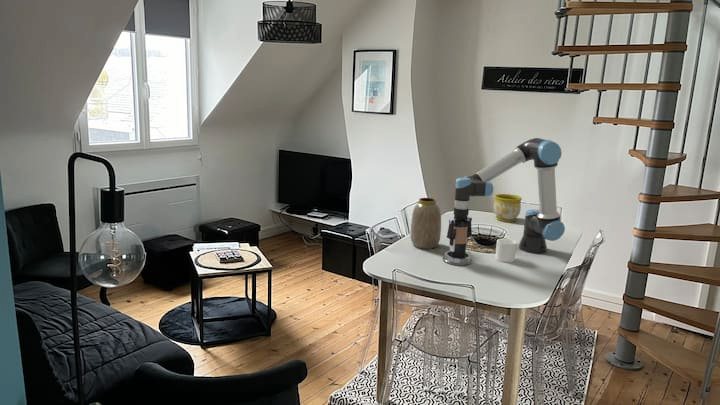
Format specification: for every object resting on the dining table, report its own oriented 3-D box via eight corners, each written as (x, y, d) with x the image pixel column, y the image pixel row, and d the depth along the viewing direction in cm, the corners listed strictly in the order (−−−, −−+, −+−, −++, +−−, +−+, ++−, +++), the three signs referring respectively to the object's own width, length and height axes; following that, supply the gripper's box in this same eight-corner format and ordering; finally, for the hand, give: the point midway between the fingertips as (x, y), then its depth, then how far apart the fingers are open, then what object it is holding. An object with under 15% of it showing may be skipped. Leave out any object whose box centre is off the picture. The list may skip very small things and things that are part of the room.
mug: (509, 264, 275) (511, 245, 272) (491, 259, 281) (493, 241, 279) (519, 258, 284) (521, 240, 282) (502, 254, 290) (504, 236, 288)
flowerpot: (493, 222, 356) (495, 198, 352) (491, 215, 374) (493, 193, 370) (520, 224, 353) (523, 200, 350) (517, 217, 371) (520, 194, 367)
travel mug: (468, 258, 276) (471, 221, 271) (457, 260, 271) (460, 223, 267) (458, 254, 282) (460, 218, 277) (447, 256, 278) (450, 220, 273)
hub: (472, 258, 282) (472, 251, 282) (471, 267, 268) (471, 260, 267) (444, 254, 286) (444, 248, 285) (441, 263, 272) (442, 257, 271)
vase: (443, 243, 306) (446, 198, 300) (434, 251, 291) (438, 204, 284) (415, 239, 313) (418, 194, 307) (405, 246, 298) (408, 200, 291)
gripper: (471, 204, 279) (468, 245, 284) (441, 208, 269) (438, 250, 274) (481, 207, 272) (477, 249, 278) (450, 211, 262) (447, 254, 268)
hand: (458, 249), depth 276 cm, fingers closed on travel mug, 8 cm apart
